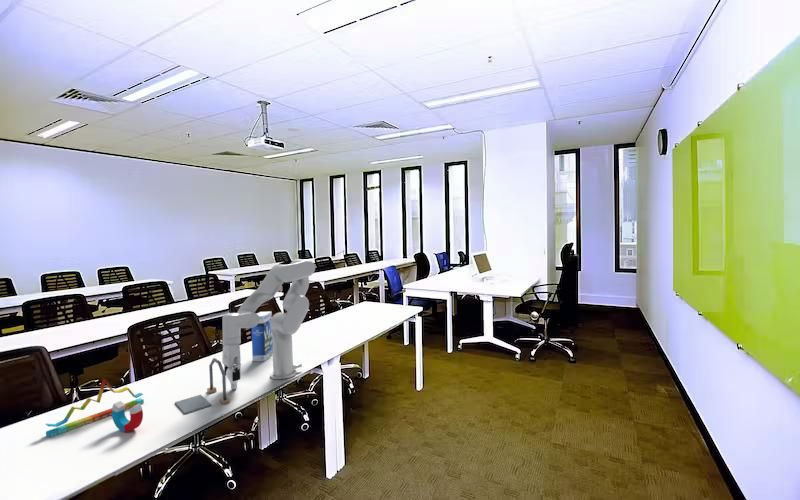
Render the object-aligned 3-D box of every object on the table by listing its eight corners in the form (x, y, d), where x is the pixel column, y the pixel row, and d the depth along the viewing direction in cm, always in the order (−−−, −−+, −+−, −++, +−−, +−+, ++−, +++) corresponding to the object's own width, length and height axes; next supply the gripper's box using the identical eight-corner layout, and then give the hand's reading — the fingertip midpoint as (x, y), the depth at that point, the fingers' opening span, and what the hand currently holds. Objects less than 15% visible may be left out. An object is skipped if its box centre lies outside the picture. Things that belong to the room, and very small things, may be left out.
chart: (49, 438, 131) (46, 397, 130) (46, 436, 132) (43, 395, 132) (144, 404, 157) (142, 369, 156) (140, 402, 158) (138, 368, 158)
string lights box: (265, 361, 206) (263, 316, 205) (251, 361, 207) (250, 316, 206) (273, 353, 220) (272, 311, 219) (261, 354, 220) (259, 311, 219)
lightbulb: (226, 393, 165) (225, 369, 165) (226, 388, 171) (225, 364, 170) (242, 390, 168) (241, 366, 168) (241, 385, 174) (240, 362, 173)
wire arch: (214, 389, 169) (212, 354, 169) (229, 402, 156) (228, 363, 155) (207, 391, 167) (205, 355, 167) (222, 404, 154) (220, 365, 153)
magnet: (112, 430, 135) (110, 403, 135) (119, 426, 138) (118, 400, 137) (136, 434, 132) (135, 407, 131) (144, 430, 134) (142, 403, 134)
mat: (200, 395, 163) (200, 394, 163) (211, 405, 153) (211, 404, 153) (174, 403, 156) (174, 402, 156) (184, 414, 146) (184, 412, 146)
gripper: (216, 338, 172) (216, 374, 172) (230, 345, 160) (231, 384, 160) (232, 335, 177) (233, 370, 177) (247, 342, 165) (248, 380, 165)
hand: (232, 377), depth 169 cm, fingers open, 9 cm apart
